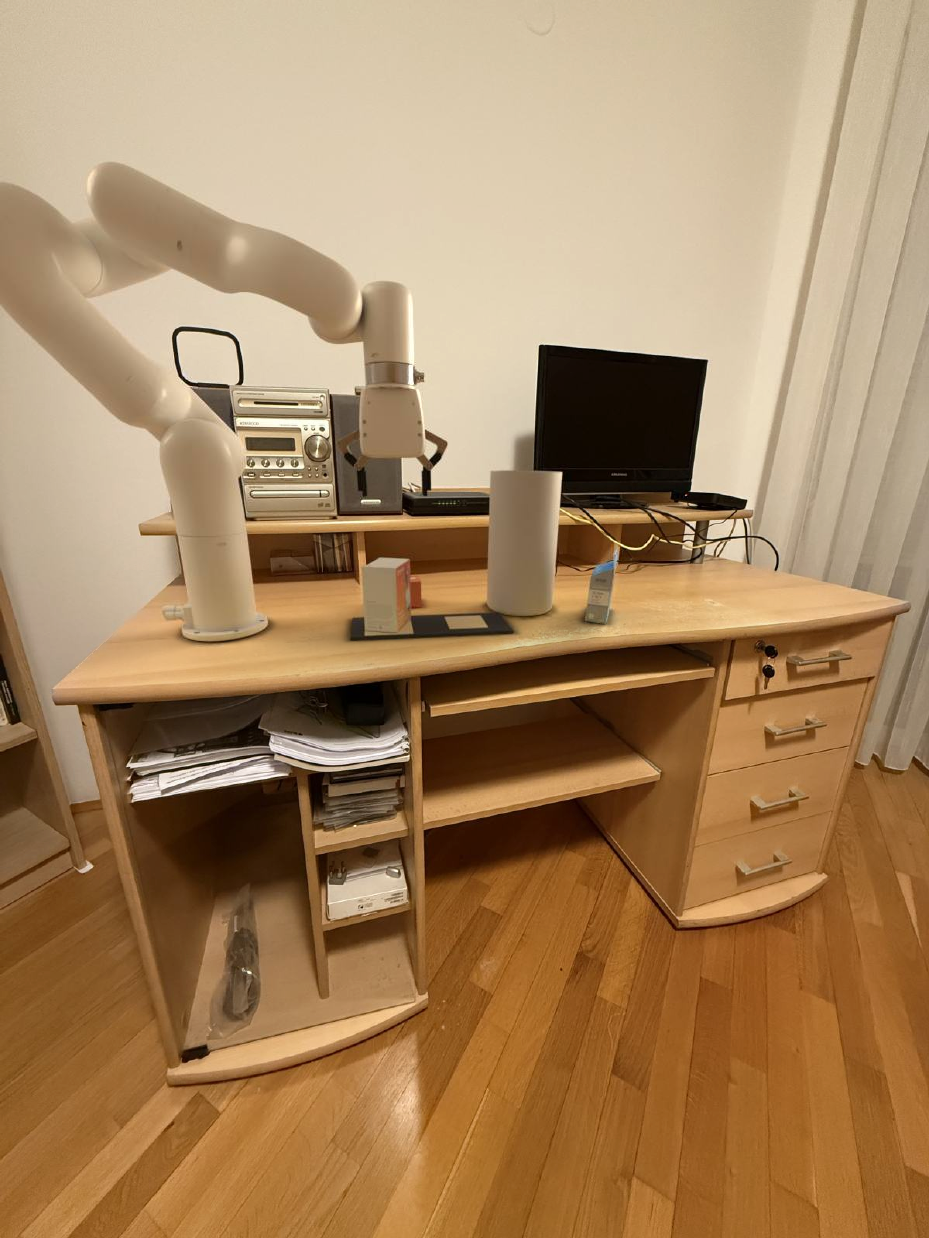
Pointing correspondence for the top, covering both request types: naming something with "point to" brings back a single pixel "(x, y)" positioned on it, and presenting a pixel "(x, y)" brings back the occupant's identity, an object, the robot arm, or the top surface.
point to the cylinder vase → (522, 541)
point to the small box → (386, 594)
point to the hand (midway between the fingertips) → (395, 495)
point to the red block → (415, 591)
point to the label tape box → (601, 591)
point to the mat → (437, 626)
